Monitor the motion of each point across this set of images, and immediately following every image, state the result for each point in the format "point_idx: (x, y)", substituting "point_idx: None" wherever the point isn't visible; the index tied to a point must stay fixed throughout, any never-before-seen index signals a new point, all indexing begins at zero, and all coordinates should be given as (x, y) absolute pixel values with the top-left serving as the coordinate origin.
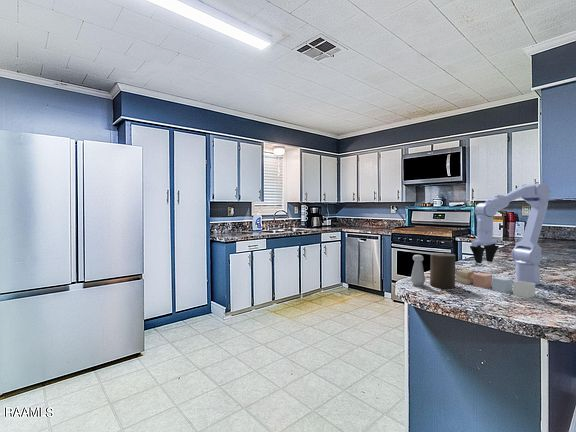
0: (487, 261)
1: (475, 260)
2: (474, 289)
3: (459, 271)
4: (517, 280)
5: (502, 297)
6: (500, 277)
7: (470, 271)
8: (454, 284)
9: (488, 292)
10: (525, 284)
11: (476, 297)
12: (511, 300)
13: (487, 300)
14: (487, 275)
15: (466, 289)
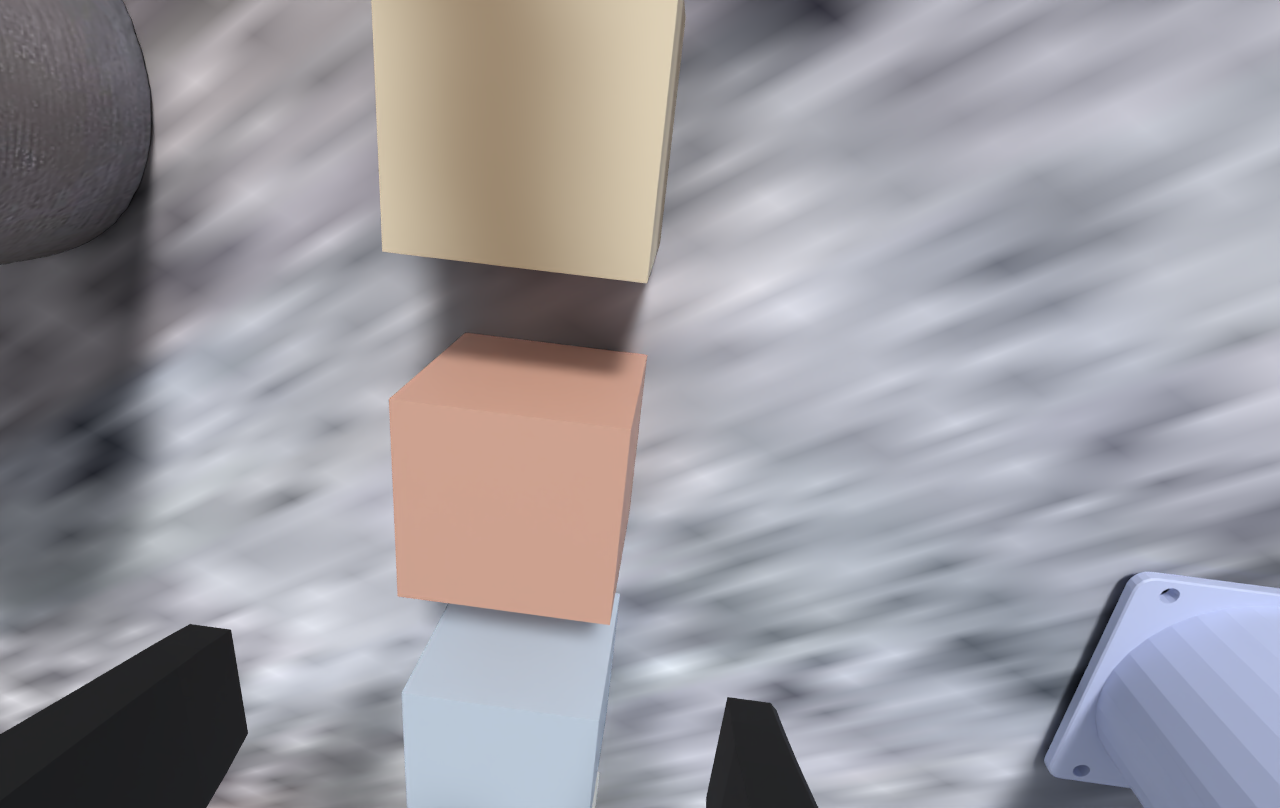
0: (725, 713)
1: (120, 673)
2: (272, 449)
3: (376, 47)
4: (1151, 666)
5: (264, 730)
6: (543, 746)
7: (601, 224)
8: (19, 260)
9: (306, 595)
10: None
11: (8, 602)
12: (249, 795)
13: (34, 691)
14: (513, 591)
15: (170, 392)
